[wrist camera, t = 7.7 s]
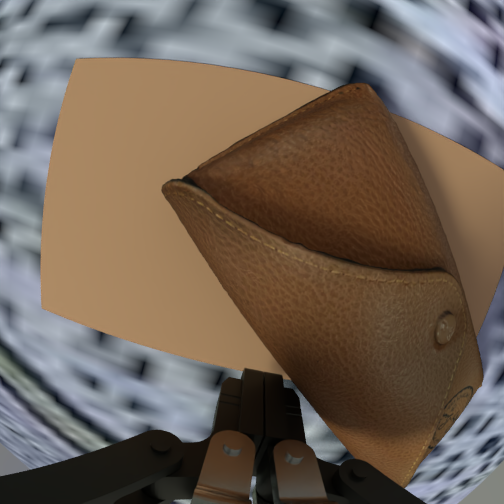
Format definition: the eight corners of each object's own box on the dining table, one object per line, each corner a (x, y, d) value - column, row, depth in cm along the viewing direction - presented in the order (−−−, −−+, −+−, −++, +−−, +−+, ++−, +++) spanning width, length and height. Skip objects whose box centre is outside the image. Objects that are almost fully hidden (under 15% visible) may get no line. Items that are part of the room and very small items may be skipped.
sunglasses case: (491, 383, 13) (488, 484, 7) (390, 405, 17) (364, 495, 12) (358, 65, 9) (307, 35, 4) (231, 155, 14) (122, 208, 9)
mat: (79, 60, 10) (76, 58, 10) (519, 182, 11) (523, 183, 10) (44, 306, 13) (41, 308, 13) (444, 390, 13) (446, 393, 13)
